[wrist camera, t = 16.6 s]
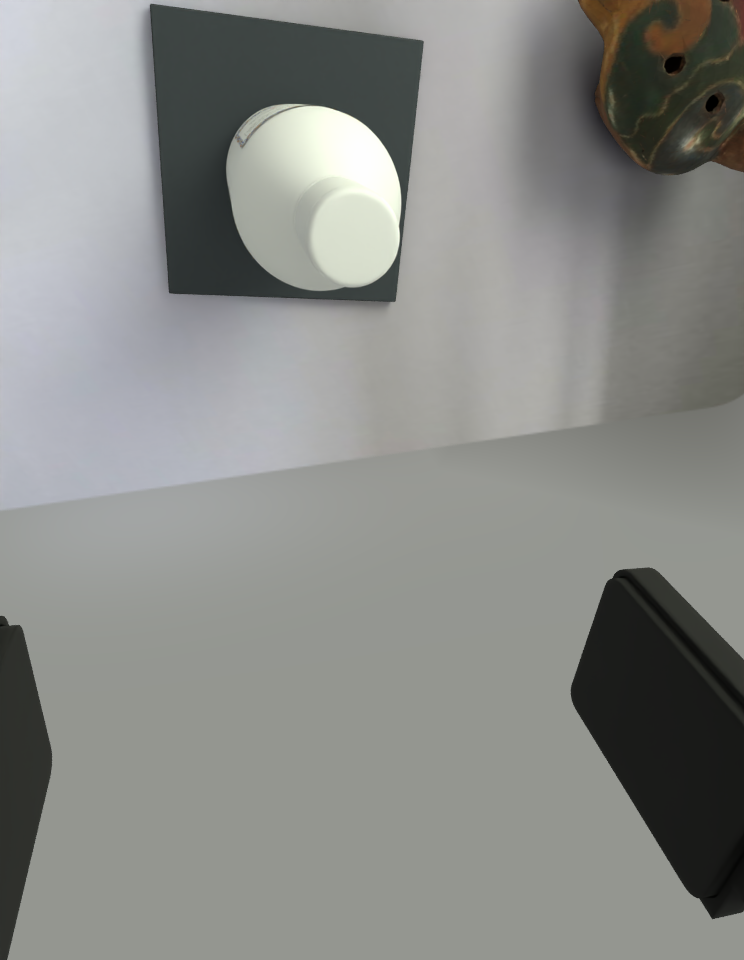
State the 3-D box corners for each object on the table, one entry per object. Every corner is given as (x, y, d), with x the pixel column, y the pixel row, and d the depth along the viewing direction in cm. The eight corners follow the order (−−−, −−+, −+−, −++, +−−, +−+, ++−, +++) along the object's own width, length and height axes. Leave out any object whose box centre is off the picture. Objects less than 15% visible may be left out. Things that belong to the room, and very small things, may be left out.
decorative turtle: (676, 215, 43) (751, 238, 36) (503, 73, 37) (554, 69, 30) (788, 70, 39) (896, 65, 32) (615, -112, 33) (701, -165, 27)
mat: (393, 299, 42) (395, 302, 41) (169, 291, 38) (169, 293, 38) (421, 41, 35) (424, 40, 34) (150, 5, 31) (149, 3, 31)
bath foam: (328, 254, 39) (416, 373, 22) (213, 217, 36) (214, 319, 19) (364, 131, 36) (500, 160, 19) (242, 82, 33) (273, 65, 17)
